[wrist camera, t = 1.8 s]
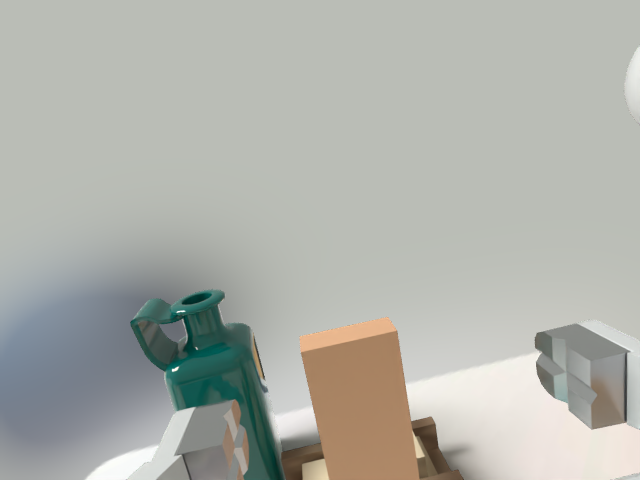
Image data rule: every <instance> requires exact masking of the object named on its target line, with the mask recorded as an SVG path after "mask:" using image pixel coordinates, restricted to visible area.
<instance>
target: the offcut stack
mask: <svg viewBox="0 0 640 480" xmlns="http://www.w3.org/2000/svg"><path fill="white" fill-rule="evenodd" d="M412 432H413V431H412ZM413 438H414V445H415V451H416V458H417V464H418V471H419V478H420V479H422V478H426V477H430V476H434V475H438V473H437V471H436V469H435V467H434V465H433V463H432V461H431V459H430V457H429V455H428V453H427V451H426V449H425V447H424V445H423V443H422V441H421V439H420V437H419V436H416V437H415V435H414V433H413ZM302 474H303V480H329V477H328V472H327V468H326V463H325V459H320V460H316V461H312V462H308V463H304V464H302Z"/></svg>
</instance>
